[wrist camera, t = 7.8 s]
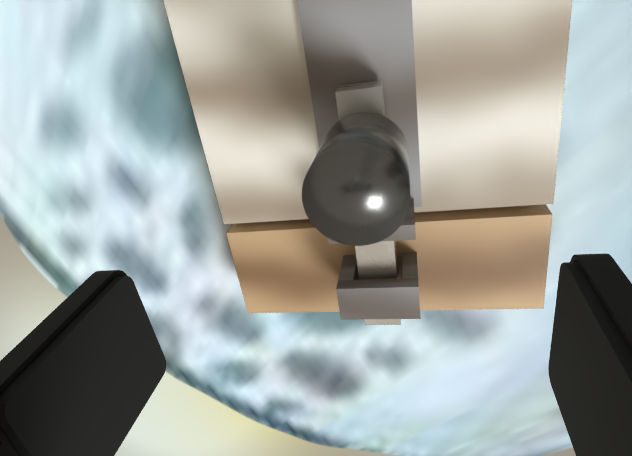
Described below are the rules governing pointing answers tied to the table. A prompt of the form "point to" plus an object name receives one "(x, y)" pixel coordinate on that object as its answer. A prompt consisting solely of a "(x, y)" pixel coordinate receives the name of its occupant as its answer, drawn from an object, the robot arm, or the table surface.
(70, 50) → the table surface
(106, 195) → the table surface
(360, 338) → the table surface
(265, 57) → the lock board
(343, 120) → the dark metal knob
